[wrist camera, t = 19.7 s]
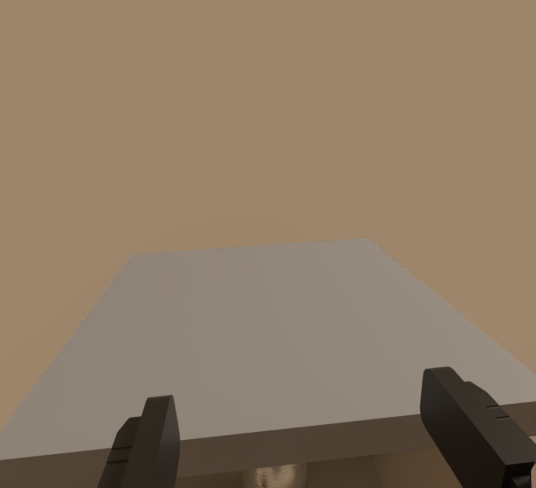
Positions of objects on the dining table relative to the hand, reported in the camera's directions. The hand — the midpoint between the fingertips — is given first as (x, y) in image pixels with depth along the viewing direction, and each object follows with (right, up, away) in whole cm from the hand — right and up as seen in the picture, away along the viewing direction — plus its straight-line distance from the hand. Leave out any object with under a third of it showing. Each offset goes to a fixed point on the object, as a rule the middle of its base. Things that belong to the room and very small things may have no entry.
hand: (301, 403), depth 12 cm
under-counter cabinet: (0, -22, +24) cm, 32 cm away
